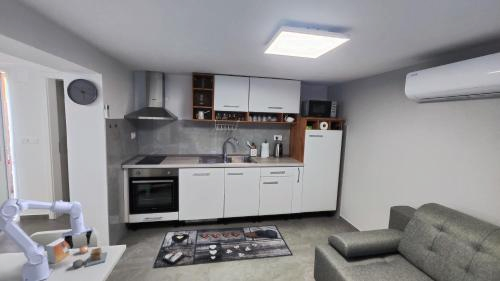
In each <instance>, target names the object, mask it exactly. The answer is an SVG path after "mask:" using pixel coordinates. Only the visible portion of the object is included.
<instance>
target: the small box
mask: <svg viewBox="0 0 500 281" xmlns="http://www.w3.org/2000/svg"><path fill="white" fill-rule="evenodd" d="M64 239H65V238H62V237H59V238H58V239H56V240H53V241H52V242H50V243H49V244H47V245H45V251H46V256H47V259H48V263H52V264H57V263H59V262H60V261H62V260H63V259H64V258H66V257H68V256H70V251H69V244H68V243H67V242H66V241H65V240H64Z"/></svg>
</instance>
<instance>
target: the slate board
mask: <svg viewBox="0 0 500 281" xmlns="http://www.w3.org/2000/svg"><path fill="white" fill-rule="evenodd" d="M107 255H108V251H106V252H102V257H101V260H97V261H94V262H91V255H89V256H88V259H87V260H86V264H85V268H87V267H91V266H95V265H99V264H104V263H105V262H106V260H107V259H106V258H107Z"/></svg>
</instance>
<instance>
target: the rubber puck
mask: <svg viewBox="0 0 500 281" xmlns="http://www.w3.org/2000/svg"><path fill="white" fill-rule="evenodd" d="M82 267H83V260H82V259H76V260H75V261H73V262H72V268H73V270H79V269H81V268H82Z"/></svg>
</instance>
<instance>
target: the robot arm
mask: <svg viewBox="0 0 500 281" xmlns="http://www.w3.org/2000/svg"><path fill="white" fill-rule="evenodd" d="M33 209H34V210H50V211H51V212H52V213H58V214H59V213H62V214H69V220H70V222H69V223H70V228H71V231H70V230H69V231H67V232H63V233H62V234H61V238H64V240H65V241H66V242H67V243H68V247H69V248H70V249H71V250H72V249H73V248H74V241H73V236H76V237H77V236H79V235H81V234H85V238H86V244H87V245H86V246H88V245H90V243H91V242H90V240H91V236H92V233H93V232H95V227H94V226H93V227H92V226H91V227H85V221H84V215H83V209H84V208H83V206H82V204H81V202H80V201H63V200H61V199H59V200H55V201H53V202H48V201H40V200H33V199H25V198H13V197H12V198H8V199H6V200H5V201H4V202H3V203H2V205H1V206H0V231H2V233H3V234H4V235H6V236H7V237H8V239H10V241H12V242H13V243H14V244H15V245H16V246H17V247H18V248H19V249H20V250H21V251H22V252H23V254H24V256H25V258H26V259H27V263H24V264H23V266H22V268H21V276H22V281H43V280H44V281H45V280H47V279H48V278H49V277H50V275H51V274H52V272H53V268H50V267H49V266H50V265H49V262H48V257H47V255H45V254H46V246H44V245H42V244H39V243H38V242H36V241H34V240H33V239H32V238H31V237H30V236H29V235H28V234H27V233H26V232H25V231H24V230H23V229H22V228H21V227H20V226H19V225H18V224H17V223H16V222H15V221H14V218H15V216H16V215H17V214H18V213H19V212H20V213H23V212H25V211H27V210H33Z"/></svg>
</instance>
